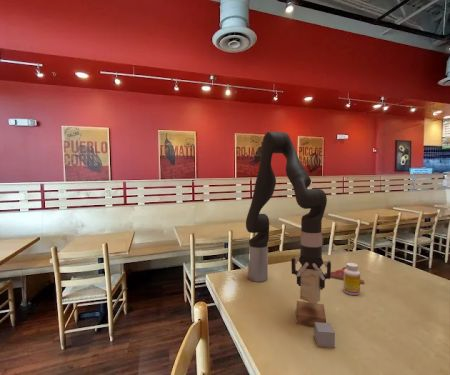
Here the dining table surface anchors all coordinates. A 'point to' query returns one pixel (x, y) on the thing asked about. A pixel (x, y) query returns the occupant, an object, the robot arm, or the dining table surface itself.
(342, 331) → the dining table surface
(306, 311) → the walnut block
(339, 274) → the pepperoni pizza slice
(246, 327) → the dining table surface
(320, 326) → the grey cube
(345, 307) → the dining table surface
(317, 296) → the skincare box
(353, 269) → the supplement bottle
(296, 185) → the robot arm
